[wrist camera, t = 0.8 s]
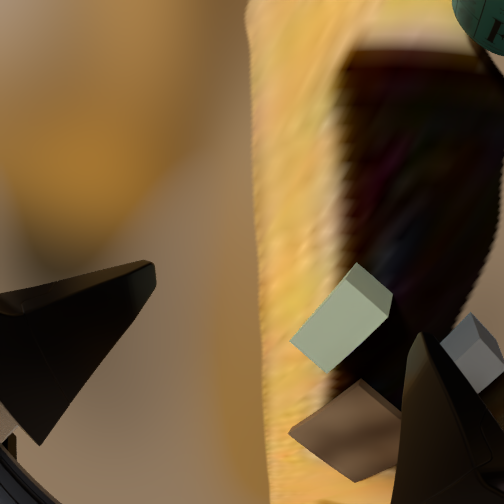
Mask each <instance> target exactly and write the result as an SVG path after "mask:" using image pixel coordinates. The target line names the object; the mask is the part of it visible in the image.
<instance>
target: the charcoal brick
mask: <svg viewBox="0 0 504 504" xmlns="http://www.w3.org/2000/svg"><path fill="white" fill-rule="evenodd" d="M440 344H441V346H442V347H443V348H444V349H445V351H446V352H447V353H448V355H449V356H450V357H451V358H452V360H453V361H454V362H455V364H456V365H457V366H458V368H459V369H460V370H461V372H462V373H463V374H464V376H465V377H466V378H467V380H468V381H469V383H470V384H471V385H472V387H473V388H474V390H475V391H476V392H477V394H478V393H479V392H481V391H482V390H483V389H484V388H485V387H487V386H488V385H489V384H490V383H491V382H492V381H493V380H495V379H496V378H497V377H498V376H499V375H500V374H501V373H502V372H503V371H504V359H503V356H502V354H501V351H500V349H499V346H498V343H497V341H496V339H495V338H494V337H493V336H492V334H490V332H489V331H488V330H487V329H486V328H485V327H484V326H483V325H482V324H481V323H480V321H479V320H478V319H477V318H476V317H475V316H474V315H473V314H472V313H471V312H470V313H469V314H468V315H467V316H466V317H465V318H464V319H463V320H462V321H461V322H460V323H459V324H458V325H457V326H456V327H455V328H454V330H453V331H452V332H451V333H450V334H449V335H448V336H447V337H446V338H445V339H444V340H443V341H442V342H441V343H440Z"/></svg>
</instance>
